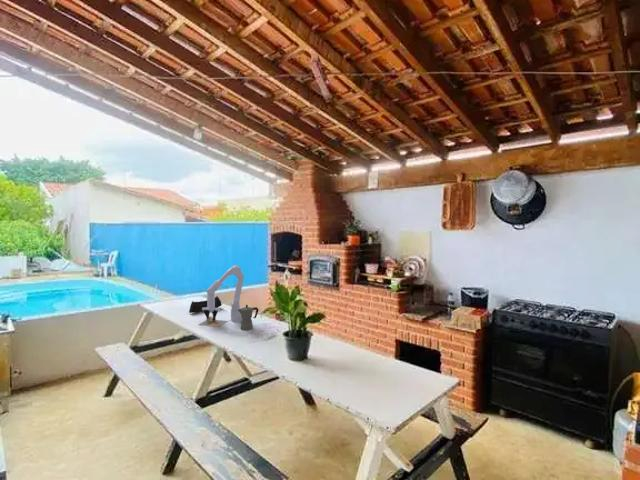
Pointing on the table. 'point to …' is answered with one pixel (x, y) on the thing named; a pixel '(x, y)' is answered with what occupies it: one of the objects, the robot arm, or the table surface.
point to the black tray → (203, 305)
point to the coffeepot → (247, 317)
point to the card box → (210, 319)
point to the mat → (213, 323)
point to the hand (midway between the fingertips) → (211, 319)
